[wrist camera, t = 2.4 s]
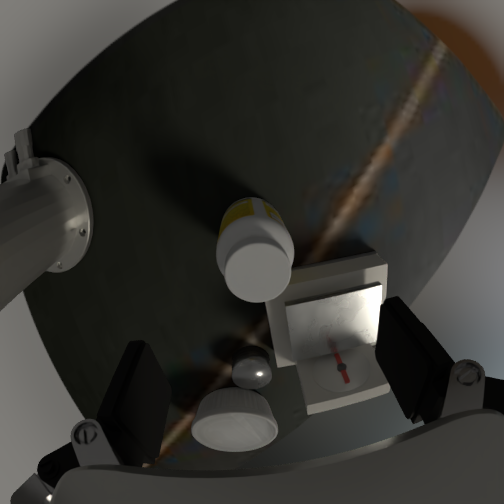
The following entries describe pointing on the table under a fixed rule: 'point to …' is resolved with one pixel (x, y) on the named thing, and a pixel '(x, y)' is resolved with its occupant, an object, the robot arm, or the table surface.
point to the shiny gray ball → (251, 367)
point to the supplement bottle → (254, 250)
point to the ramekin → (234, 420)
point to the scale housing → (338, 363)
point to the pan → (333, 320)
